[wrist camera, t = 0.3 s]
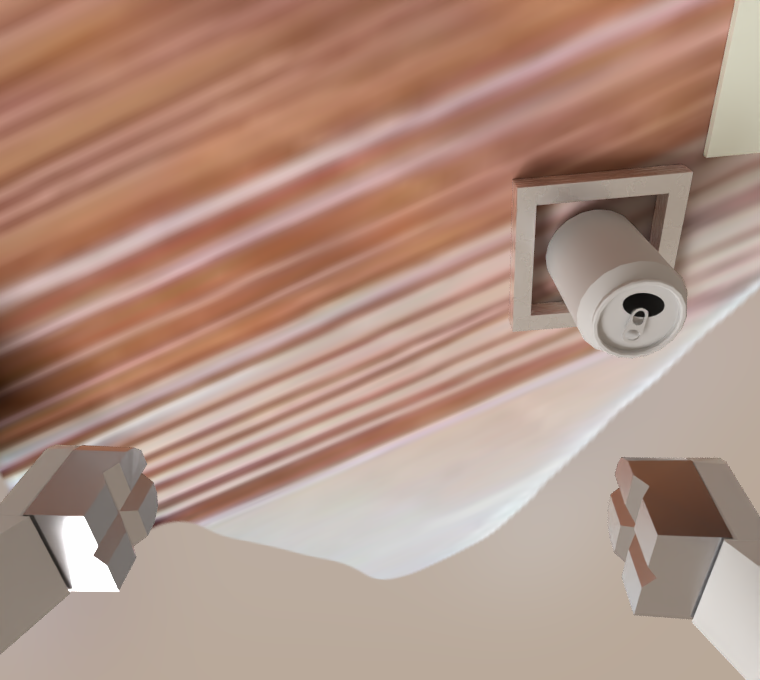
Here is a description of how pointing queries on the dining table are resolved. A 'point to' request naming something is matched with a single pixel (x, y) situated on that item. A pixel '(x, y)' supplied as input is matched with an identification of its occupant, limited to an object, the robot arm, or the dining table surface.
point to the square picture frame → (583, 187)
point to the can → (616, 285)
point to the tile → (738, 87)
